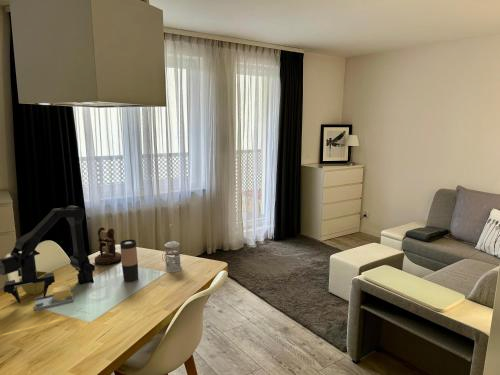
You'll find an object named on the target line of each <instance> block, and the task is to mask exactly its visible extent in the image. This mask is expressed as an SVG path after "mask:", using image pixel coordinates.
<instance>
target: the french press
mask: <svg viewBox="0 0 500 375" xmlns="http://www.w3.org/2000/svg"><path fill="white" fill-rule="evenodd" d="M168 227H169V228H172V227H174V225H173V224H169V225H168ZM170 236H171V238H170V239H171V241H168V242H166V243H165V244H164V247H165V249H164V250H163V251H162V253H161V254H162V255H161V258H162V261H163V262H164V263H165V268H164V271H165V272H168V273H175V272H179V271H182V270H183V266H182V265H181V254H180V250H179V249H173V248H177V247H179V246H180V243H179V242H178V241H175V240H173V237H172V236H173V234H172V231H170ZM166 248H168V249H166ZM163 256H164V257H163Z"/></svg>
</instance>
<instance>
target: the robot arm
mask: <svg viewBox="0 0 500 375" xmlns="http://www.w3.org/2000/svg"><path fill="white" fill-rule="evenodd" d="M84 214H85V211H84V208H82V207H81V206H77V205H76V206H75V205H68V206H66V207H59V208H52V209H50V211H49V212H48V214H47V215H46V216H45V217H43V219H42V220H41V221H40V222H39V223H38V224H37V225H36V226H35V227H34V228H33V229H32V230H30V231H29V232H27V233H26V234H24V235H22V236H21V237H20V238H18V239H17V240H16V241H15V243H14V247H13V249H12V250H11V252H10V254H9V256H8V257H7V256H6V257H2V258H0V275H1V276H6V275H9V274H12V273H15V272H17V276H18V278H22V281H20V280H19V281H16V280H15V279H12V280H8V281H5V282H4V283H3V287H2V290H3V293H7V294H11V295H12V296H13V297H14V298H15V299H16V301H17V303H18V304H21V297H20V294H19V291H18V287H22V286H23V285H28V284H33V283H38V282H43V281H44V291H43V296H44V298H45V296H46V295H47V291H48V289H49V287H50V286H51V285H53V283H55V282H56V278H55V273H54V272H49V273H48V274H44V277H41V278H37V277H38V275H37V271H38V270H37V264H36V263H37V262H36V256H37V255H38V256H39V255H40V254H41V252H40V251H39V252H38V251H37V250H36V248H37V247H38V245H39V244H40V241H41V239H42V237H43V236H44V235H45V234H46V233H47V232H48V231H49V230H50V229H51V228H52V227H53V226H54V225H55V224H56V222H58V221H59V219H61V218H66V221H67V222H68V224H69V225H70V226H69V227H70V233H71V240H72V241H71V242H72V248H73V250H72V251H73V254H72V256H69V261H70V263H69V265H71V267H72V268H73V269H75V271H77V272H78V273H77V274H76V275H77V283H78V284H79V285H86V284H90V283H91V284H93V283H95V280H94V274H93V272H94V271H95V270H96V265H95V264H93V263H91V262H90V258H89V255H88V254H87V252H86V250H85V243H84V234H83V227H82V226H83V225H82V223H83V220H84V217H85V216H84ZM20 252H21V253H20Z"/></svg>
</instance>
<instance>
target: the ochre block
mask: <svg viewBox="0 0 500 375" xmlns="http://www.w3.org/2000/svg"><path fill="white" fill-rule="evenodd" d="M71 288H72V287H71V284H68V285H64V286H63V285H62V286H58V287H54V288H52V294H53V296H54V300H61V299H66V297H69V296H71V290H72V289H71ZM66 300H67V299H66Z"/></svg>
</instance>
